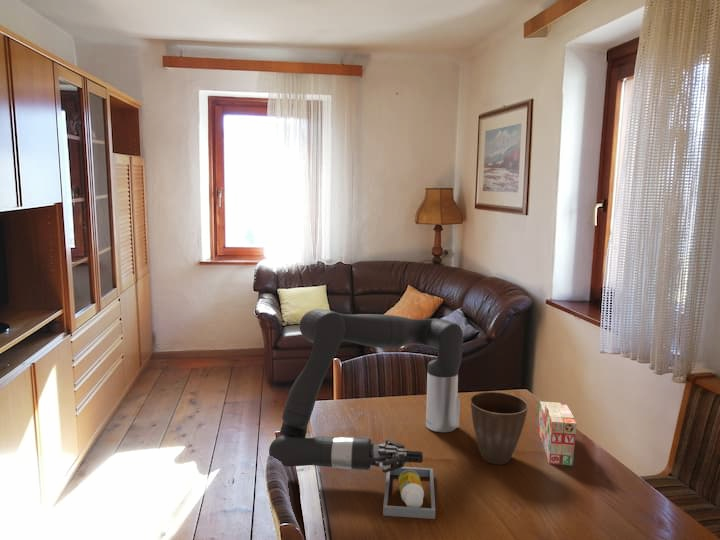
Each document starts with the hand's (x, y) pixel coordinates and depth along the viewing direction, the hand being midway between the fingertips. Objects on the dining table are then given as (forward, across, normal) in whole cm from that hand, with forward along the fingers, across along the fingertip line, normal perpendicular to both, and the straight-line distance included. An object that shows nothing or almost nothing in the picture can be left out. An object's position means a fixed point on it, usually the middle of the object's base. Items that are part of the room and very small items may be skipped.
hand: (422, 457), depth 135 cm
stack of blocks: (+38, +26, +8) cm, 47 cm away
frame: (-3, -3, +8) cm, 9 cm away
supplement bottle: (-3, -1, +5) cm, 6 cm away
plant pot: (+20, +18, +8) cm, 28 cm away
